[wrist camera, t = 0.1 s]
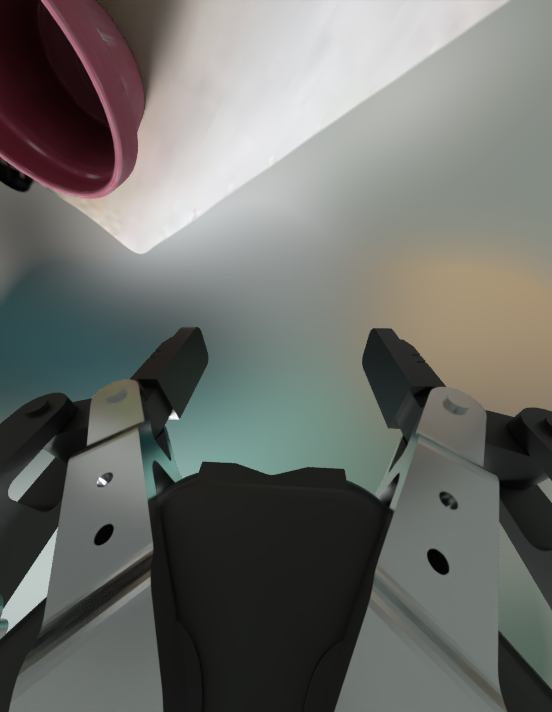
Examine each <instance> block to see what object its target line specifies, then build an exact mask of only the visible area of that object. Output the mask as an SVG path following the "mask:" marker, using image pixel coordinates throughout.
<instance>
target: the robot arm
mask: <svg viewBox="0 0 552 712" xmlns="http://www.w3.org/2000/svg"><path fill="white" fill-rule="evenodd" d="M207 364H208V352H207V349H206V345H205V342H204V339H203V335H202V332H201V330H200V328H198V327H182V328H180V329H179V330H178V332H177V333H176V334H175V335H174V336H173V337H171V338H169V339H168V340H166V341H165V342H163V343H162V344H161V345H160V346H159V347H158V348H157V349H156V351H155V352H154V353H153V354H152V355H151V356H150V358H148V359H147V360H146V362H145V363H144V364H143V365H142V366H141V367H140V368H139V369H138V370H137V372H136V373H135V374H134V375H133V376H132V377H131V378H130V379H126V380H120V381H116V382H114V383H111V384H109V385H107V386H105V387H104V388H102V389H101V390H100V391H98V392H97V393H96V394H95V396H94V397H93V398H91V399H86V400H81V401H76V402H72V401H71V400H70V399H69V398H68V397H67V396H66V395H65V394H63V393H51V394H47V395H44V396H41V397H38V398H36V399H34V400H32V401H30V402H28V403H26V404H25V405H23V406H22V407H20V408H19V409H18V410H17V411H15V412H14V413H13V414H12V415H10V417H8V418H7V419H5V420H4V421H3V422H2V423H1V424H0V617H1V614H2V610H3V608H4V607H5V605H6V604H7V602H8V601H9V599H10V598H11V596H12V595H13V593H14V592H15V590H16V589H17V587H18V586H19V584H20V583H21V581H22V580H23V578H24V577H25V575H26V574H27V572H28V571H29V569H30V567H31V566H32V565H33V563H34V562H35V560H36V559H37V557H38V556H39V554H40V553H41V551H42V550H43V548H44V547H45V545H46V544H47V542H48V541H49V539H50V538H51V536H52V535H53V533H54V532H55V530H56V529H57V527H58V531H57V537H56V544H55V550H54V556H53V562H52V569H51V576H50V582H49V588H48V594H47V597H46V598H45V599H44V600H43V601H41V603H39V604H38V605H37V606H36V607H35V608H34V609H33V610H32V611H31V612H29V613H28V614H27V615H26V616H25V617H24V618H23V619H22V620H21V621H20V622H19V623H17V624H16V625H15V626H14V627H13V628H12V629H11V630H10V631H9V632H8V633H6V632H7V629H8V621H7V620H6V619H0V712H552V689H551V688H550V687H549V686H548V685H547V684H546V682H544V680H543V679H542V678H541V677H540V676H539V675H538V674H537V672H536V671H535V670H534V669H533V668H532V667H531V666H530V665H529V664H528V663H527V661H526V660H525V659H524V658H523V657H522V656H521V655H520V654H519V652H518V651H517V650H516V649H515V648H514V647H513V646H512V645H511V643H510V642H509V641H508V640H507V639H506V638H505V637H504V636H503V635H502V634H501V632H500V631H499V630H498V590H499V589H498V588H499V586H498V585H499V522H500V523H501V525H502V526H503V528H504V530H505V532H506V533H507V535H508V537H509V538H510V540H511V542H512V543H513V545H514V547H515V549H516V550H517V552H518V554H519V555H520V557H521V559H522V560H523V562H524V564H525V565H526V567H527V569H528V570H529V572H530V574H531V576H532V577H533V579H534V581H535V582H536V584H537V586H538V587H539V589H540V591H541V593H542V594H543V596H544V598H545V599H546V601H547V603H548V604H549V606H550V608H551V609H552V503H551V501H550V500H549V499H548V498H547V496H546V495H545V494H544V493H543V492H542V490H541V489H540V488H539V486H538V485H537V484H538V483H540V482H542V481H544V480H546V479H548V478H550V479H551V480H552V411H548V410H545V409H540V408H525V409H523V410H522V411H521V412H520V413H519V414H517V415H516V416H515V417H511V416H507V415H503V414H499V413H495V412H491V411H487V410H485V409H484V408H483V406H482V405H481V404H480V403H479V402H478V401H477V400H476V399H474V398H473V397H471V396H470V395H468V394H466V393H464V392H462V391H460V390H457V389H454V388H449V387H446V386H445V385H444V383H443V382H442V381H441V380H440V378H439V377H438V376H437V375H436V374H435V372H434V371H433V370H432V369H431V367H429V365H428V364H427V363H425V360H424V359H423V358H422V357H421V356H420V354H419V353H418V351H417V350H416V349H415V348H414V347H413V346H412V345H410V344H409V343H407V342H406V341H404V340H400V339H399V338H398V336H397V335H396V334H395V332H394V331H393V330H392V329H388V328H387V329H386V328H385V329H384V328H373V329H372V330H371V331H370V334H369V337H368V340H367V344H366V347H365V350H364V354H363V358H362V365H363V369H364V371H365V374H366V376H367V378H368V381H369V383H370V386H371V388H372V391H373V393H374V395H375V398H376V400H377V403H378V405H379V407H380V410H381V412H382V415H383V417H384V419H385V422H386V424H387V427H388V428H394V429H395V428H396V429H401V431H402V433H403V435H402V436H401V438H400V440H399V442H398V445H397V447H396V450H395V452H394V454H393V457H392V459H391V462H390V464H389V467H388V469H387V472H386V474H385V477H384V478H383V481H382V482H381V484H380V486H379V488H378V490H377V492H376V494H375V496H374V495H373V494H372V493H370V492H369V491H367V490H366V489H364V488H362V487H361V486H359V485H357V484H355V483H353V482H350V481H347V480H346V476H345V470H344V469H334V468H315V467H307V468H302V469H298V470H294V471H289V472H285V473H281V474H276V475H267V474H264V473H262V472H259V471H256V470H253V469H250V468H248V467H244V466H242V465H239V464H236V463H219V462H218V463H217V462H202V465H201V467H200V470H199V473H195V474H193V475H190V476H187V477H185V478H183V479H182V477H181V475H180V473H179V471H178V468H177V466H176V462H175V458H174V454H173V451H172V447H171V443H170V439H169V435H168V431H167V428H166V426H165V424H166V422H167V420H168V419H180V417H181V415H182V413H183V411H184V409H185V407H186V405H187V404H188V402H189V400H190V398H191V396H192V394H193V392H194V390H195V388H196V386H197V384H198V382H199V380H200V378H201V376H202V374H203V372H204V370H205V368H206V366H207ZM42 449H45V450H46V451H48V452H49V453H51V454H52V455H54V456H55V459H54V460H53V461H52V462H51V463H50V464H49V466H48V467H47V468H46V469H45V470H44V471H43V473H42V474H41V475H40V476H39V477H38V478H37V479H36V481H35V482H34V483H33V484H32V485H31V487H30V488H29V489H28V490H27V491H26V492H25V494H24V495H23V496H22V497H21V498H20V499H19V501H18V502H16V501H14V500H11V499H10V498H9V496H8V489H9V486H10V484H11V483H12V481H13V480H14V479H15V478H16V477H17V476H18V475H19V473H20V472H21V471H22V470H23V469H24V468H25V467H26V466H27V465H28V464H29V463H30V462H31V461H32V460H33V459H34V457H35V456H36V455H37V454H38V453H39V452H40V451H41V450H42Z"/></svg>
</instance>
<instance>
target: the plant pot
mask: <svg viewBox="0 0 552 712" xmlns="http://www.w3.org/2000/svg"><path fill="white" fill-rule="evenodd" d="M144 107H145V100H144V89H143V84H142V80H141V76H140V73H139V70H138V67H137V64H136V62H135V59H134V57H133V55H132V52H131V50H130V48H129V46H128V44H127V43H126V41H125V39H124V37H123V36H122V34H121V32H120V31H119V29H118V28H117V26H116V25H115V23H114V22H113V21H112V19H111V18H110V17H109V15H108V14H107V13H106V12H105V10H104V9H103V8H102V7H101V6H100V5H99V4H98V3H97V2H96V1H95V0H0V157H2V158H3V159H4V160H6V161H7V162H8V163H10V164H11V165H13V166H14V167H16V168H17V169H18V170H20V171H21V172H23V173H25V174H26V175H28V176H29V177H31V178H33V179H34V180H36V181H38V182H40V183H42V184H44V185H46V186H48V187H50V188H52V189H54V190H57V191H59V192H62V193H64V194H67V195H70V196H74V197H79V198H86V199H94V198H100V197H104V196H106V195H108V194H110V193H111V192H112V191H114V190H115V189H116V188H117V187H119V186H120V185H121V184H122V183H123V182H124V181H125V180H126V179H127V178H128V177H129V175H130V174H131V173H132V171H133V169H134V166H135V163H136V159H137V153H138V139H137V131H138V129H139V125H140V123H141V120H142V118H143V114H144Z"/></svg>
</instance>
